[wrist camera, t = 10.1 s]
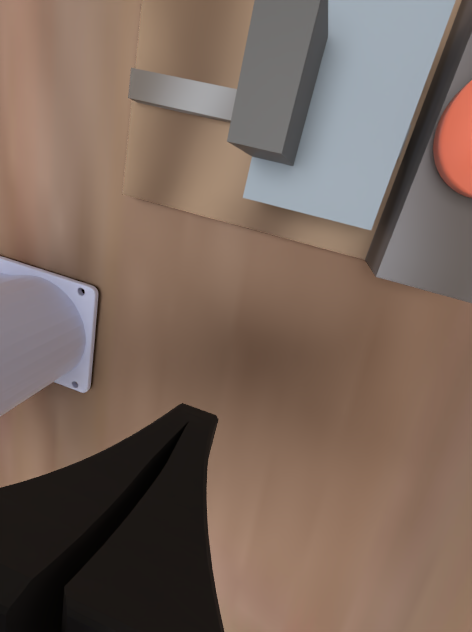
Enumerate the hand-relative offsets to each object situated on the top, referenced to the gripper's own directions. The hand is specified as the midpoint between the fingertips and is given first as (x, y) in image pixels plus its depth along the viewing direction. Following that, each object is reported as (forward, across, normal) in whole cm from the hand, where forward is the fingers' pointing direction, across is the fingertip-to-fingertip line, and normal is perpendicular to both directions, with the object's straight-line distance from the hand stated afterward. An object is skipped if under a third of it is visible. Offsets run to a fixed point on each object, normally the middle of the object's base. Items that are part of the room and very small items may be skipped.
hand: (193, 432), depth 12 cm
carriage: (+7, -1, -11) cm, 13 cm away
